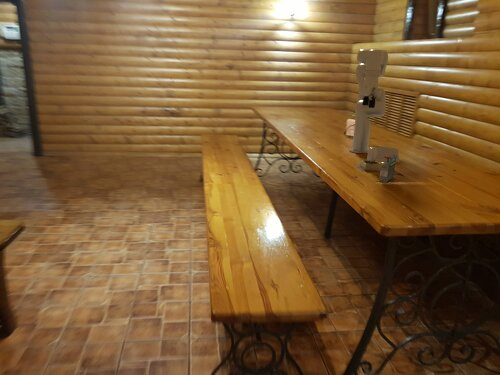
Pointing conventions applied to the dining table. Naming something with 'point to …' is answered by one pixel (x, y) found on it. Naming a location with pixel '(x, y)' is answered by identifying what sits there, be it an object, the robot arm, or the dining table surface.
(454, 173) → the dining table surface
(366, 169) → the square socket board
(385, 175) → the label tape box
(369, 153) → the beige cylindrical canister
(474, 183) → the dining table surface
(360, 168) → the base board
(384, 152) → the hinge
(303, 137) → the dining table surface
